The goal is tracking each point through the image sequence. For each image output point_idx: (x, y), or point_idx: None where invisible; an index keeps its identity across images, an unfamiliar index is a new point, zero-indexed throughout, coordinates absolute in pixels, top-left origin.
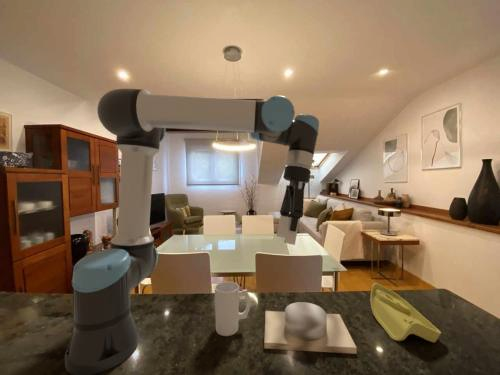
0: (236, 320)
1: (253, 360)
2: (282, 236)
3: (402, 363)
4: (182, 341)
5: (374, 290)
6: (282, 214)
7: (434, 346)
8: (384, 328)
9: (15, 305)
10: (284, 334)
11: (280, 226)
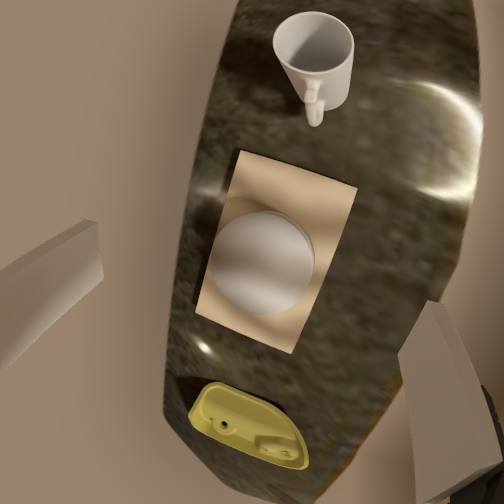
0: (300, 95)
1: (221, 126)
2: (408, 340)
3: (176, 350)
4: None
5: (302, 450)
6: (488, 487)
7: None
8: (240, 392)
9: None
10: (254, 200)
11: (443, 375)
